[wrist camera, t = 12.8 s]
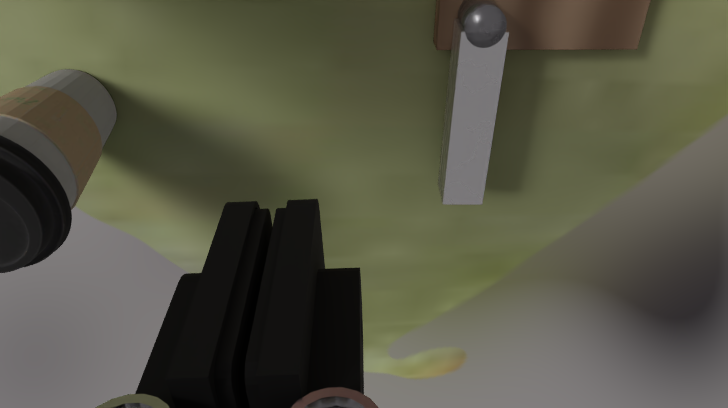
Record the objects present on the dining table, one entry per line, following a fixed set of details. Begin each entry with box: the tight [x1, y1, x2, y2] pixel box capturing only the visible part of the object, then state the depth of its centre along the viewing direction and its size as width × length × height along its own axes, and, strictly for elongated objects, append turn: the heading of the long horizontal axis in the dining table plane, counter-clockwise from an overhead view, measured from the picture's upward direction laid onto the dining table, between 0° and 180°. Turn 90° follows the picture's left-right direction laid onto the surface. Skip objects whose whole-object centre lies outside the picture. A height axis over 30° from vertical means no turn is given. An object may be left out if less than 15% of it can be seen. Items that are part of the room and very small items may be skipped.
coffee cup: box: [0, 69, 117, 273], centre depth 37 cm, size 9×9×15 cm
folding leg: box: [438, 0, 509, 204], centre depth 40 cm, size 15×3×3 cm, turn 179°
